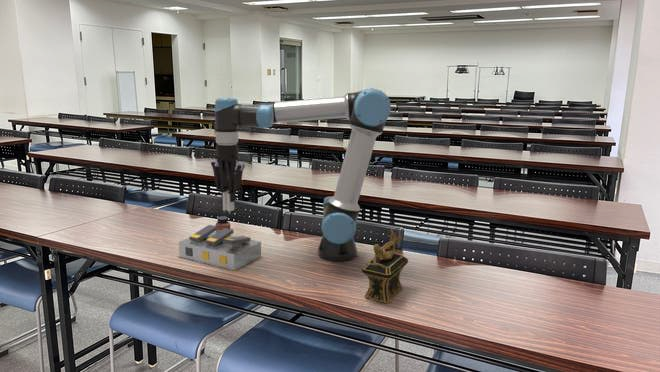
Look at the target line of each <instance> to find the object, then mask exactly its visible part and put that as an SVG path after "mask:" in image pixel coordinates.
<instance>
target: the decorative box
mask: <svg viewBox="0 0 660 372" xmlns="http://www.w3.org/2000/svg"><path fill="white" fill-rule="evenodd" d="M390 230H391V232H390V233H391V235H390V237H389V241H388V242H386V243H384V245H382V246H380V244H377V243H376V244H373V251H374V254H373V258H372V259H370V260H369V261H368V262H367V263H366V264H365V265H364V266H362V267H361V273H363V274H364V275H365V276H366V277H367V279H368V281H369V282H368V283H369V284H368V289H367V291H366V292H365V295H364V297H366V299H367V298H369V299H368V300H371V299H373V300H372V301H374V300H376V301H375V302H378V301H379V303H382V302H384V303H383V304H389V303H391V302H392V301H393V299H395V298H396V296H398V294H400V293H401V292H402V290H403V289H404V288H403V285H402V283H401V280H400V275H401V272H402V270H403V268H405V266H407V264H408V263H409V258H407V257H406V256H404V255H402V254H401V253H400V254H399V253H395V250H396V244H398V243H399V242H400V241H401V240H402V238H403V235H402V234H401V235H400V236H397V237H396V233H395V232H394V230H393V229H392V228H390Z"/></svg>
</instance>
